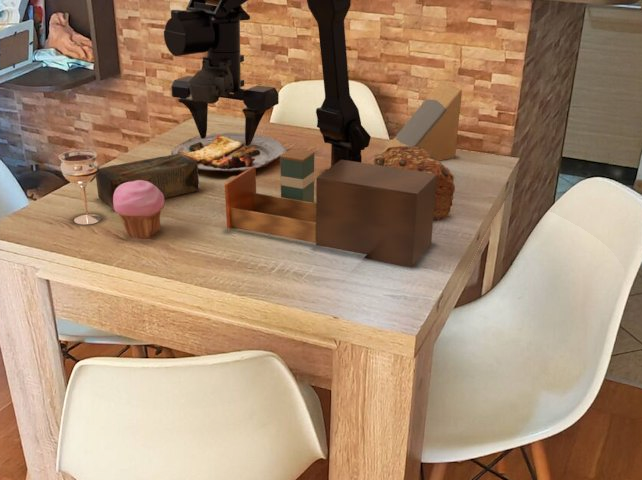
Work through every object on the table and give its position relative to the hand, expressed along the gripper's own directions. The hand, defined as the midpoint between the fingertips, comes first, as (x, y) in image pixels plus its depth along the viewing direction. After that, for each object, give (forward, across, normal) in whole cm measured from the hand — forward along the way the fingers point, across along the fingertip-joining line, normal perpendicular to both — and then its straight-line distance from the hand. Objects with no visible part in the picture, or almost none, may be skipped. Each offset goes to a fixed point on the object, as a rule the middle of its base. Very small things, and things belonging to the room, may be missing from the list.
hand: (225, 141), depth 148 cm
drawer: (+13, +12, -2) cm, 18 cm away
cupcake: (+15, -9, -15) cm, 23 cm away
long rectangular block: (+13, +11, +7) cm, 19 cm away
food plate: (+13, -16, +28) cm, 35 cm away
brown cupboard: (+13, +30, -2) cm, 33 cm away
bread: (+13, +30, +20) cm, 38 cm away
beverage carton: (+14, -19, +2) cm, 24 cm away
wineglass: (+15, -22, -13) cm, 30 cm away
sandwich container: (+12, +22, +48) cm, 54 cm away
